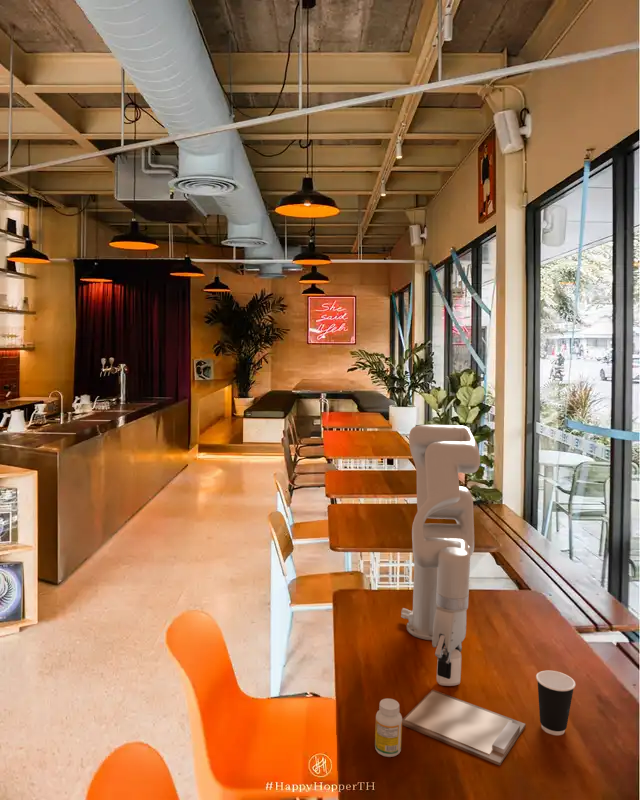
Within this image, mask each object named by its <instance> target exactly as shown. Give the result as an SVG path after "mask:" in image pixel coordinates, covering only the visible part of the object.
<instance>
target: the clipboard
mask: <svg viewBox="0 0 640 800" xmlns="http://www.w3.org/2000/svg"><path fill="white" fill-rule="evenodd" d="M402 726H404V727H406V728H409V729H411V730H413V731H416V732H418V733H421V734H423V735H425V736H428V737H430V738H433V739H435V740H437V741H440V742H443V743H445V744H447V745H449V746H452V747H454V748H457V749H458V750H462V751H464V752H466V753H469V754H471V755H474V756H476V757H478V758H480V759H483V760H485V761H488V762H489V763H492V764H495V765H497V766H499V767H500V766H501V765H502V763H503V762H504V760H505V758H506V757H507V755H508V754H509V753H510V751H511V750H512V748H513V746H514V745H515V744H516V741H518V739H519V737H520V735H521V734H522V733H523V731H524V730H525V728H526V723H525V722H522V721H519V720H516V719H513V718H511V717H508V716H505V715H502V714H500V713H497V712H494V711H492V710H490V709H487V708H485V707H481V706H478V705H476V704H473V703H470V702H467V701H465V700H462V699H459V698H456V697H454V696H451V695H449V694H445V693H443V692H440V691H438V690H436V689H432V690H430V691H429V692H428V694H426V695H425V696H424V697H423V699H421V700H420V701H419V703H417V704H416V705H415V707H414V708H412V710H411V711H409V712H408V713H407V715H405V716H404V717H402Z"/></svg>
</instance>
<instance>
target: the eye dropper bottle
mask: <svg viewBox="0 0 640 800" xmlns="http://www.w3.org/2000/svg"><path fill="white" fill-rule="evenodd" d="M444 648H447V647H446V646H444ZM443 654H445V655H446V657H447V652H445V651H443ZM450 662H451V678H450V679H447V678H444V677H442V676H439V675H438V674H437V672H438V660H437V662H436V663H437V664H436V682H437V684H439V686H445V687H451V686H457V685H460V683H461V679H462V678H461V677H462V676H461V675H462V652H459V651H458V650H457V649H454V650H453V651H451V657H450Z"/></svg>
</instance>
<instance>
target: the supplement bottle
mask: <svg viewBox="0 0 640 800" xmlns="http://www.w3.org/2000/svg"><path fill="white" fill-rule="evenodd" d="M378 705H379V706H378V707H379V708H378V709H379V710H377V712H376V714H375V725H374V727H375V729H374V731H375V732H374V733H375V734H374V747H375V750H376V752H377V753H378V754H379V755H381V756H383V757H387V758H391V757H396V756H397V755H399V754H400V752H401V751H402V734H403V725H402V719H403V716H402V714H401V713H400V703H399V702H398V701H397V700H396V699H393V698H383V699H381V700H380V701H379V704H378Z"/></svg>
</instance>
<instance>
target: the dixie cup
mask: <svg viewBox="0 0 640 800" xmlns="http://www.w3.org/2000/svg"><path fill="white" fill-rule="evenodd" d="M535 679H536V681H537V693H538V695H537V696H538V697H537V698H538V711H539V723H540V726H541V729H542V730H543V732H545V733H547V734H549V735H552V736H562V735H564V734H565V733H566V732H565V731H566V729H567V727H568V721H569V716H570V710H571V706H572V705H571V704H572V701H573V700H572V699H573V694H574V689H575V687H576V681H575V680H574V679H573V678H572V677H571V676H569V675H568V674H565V673H563V672H560V671H557V670H548V669H547V670H542V671H539V672H537V673H536V675H535Z"/></svg>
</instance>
